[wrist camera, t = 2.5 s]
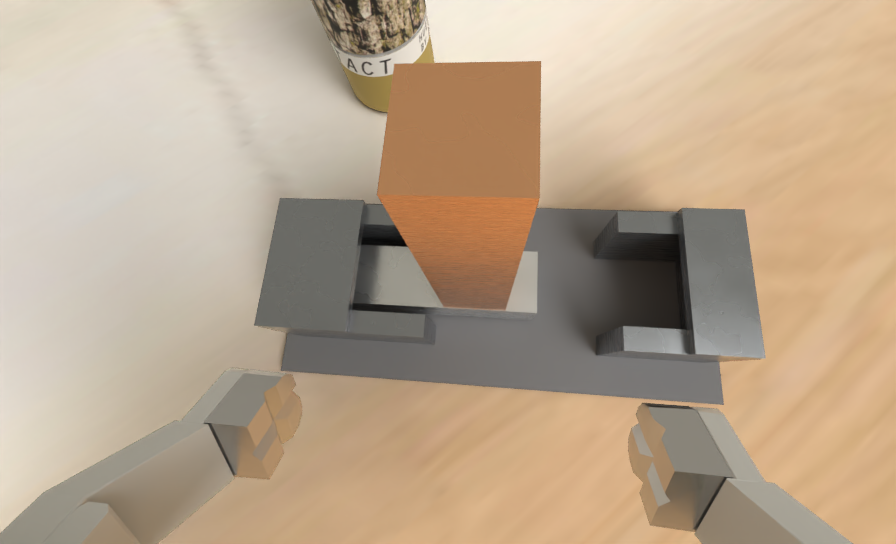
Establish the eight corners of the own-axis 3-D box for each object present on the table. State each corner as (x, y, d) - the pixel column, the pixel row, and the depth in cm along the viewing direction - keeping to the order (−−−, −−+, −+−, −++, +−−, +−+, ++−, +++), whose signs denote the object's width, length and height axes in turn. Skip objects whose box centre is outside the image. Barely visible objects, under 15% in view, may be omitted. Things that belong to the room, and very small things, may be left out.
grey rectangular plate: (284, 370, 25) (280, 370, 25) (313, 204, 28) (311, 202, 28) (719, 404, 22) (723, 404, 22) (699, 215, 25) (702, 212, 25)
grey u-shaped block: (301, 336, 25) (254, 325, 20) (319, 232, 27) (280, 198, 22) (435, 344, 24) (421, 336, 19) (443, 236, 26) (433, 201, 21)
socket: (596, 355, 23) (628, 349, 18) (593, 241, 25) (621, 206, 20) (704, 362, 23) (770, 358, 17) (692, 244, 24) (748, 209, 19)
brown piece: (304, 307, 26) (-7, 187, 9) (313, 256, 26) (43, 67, 10) (531, 320, 24) (627, 202, 8) (532, 265, 25) (618, 58, 9)
